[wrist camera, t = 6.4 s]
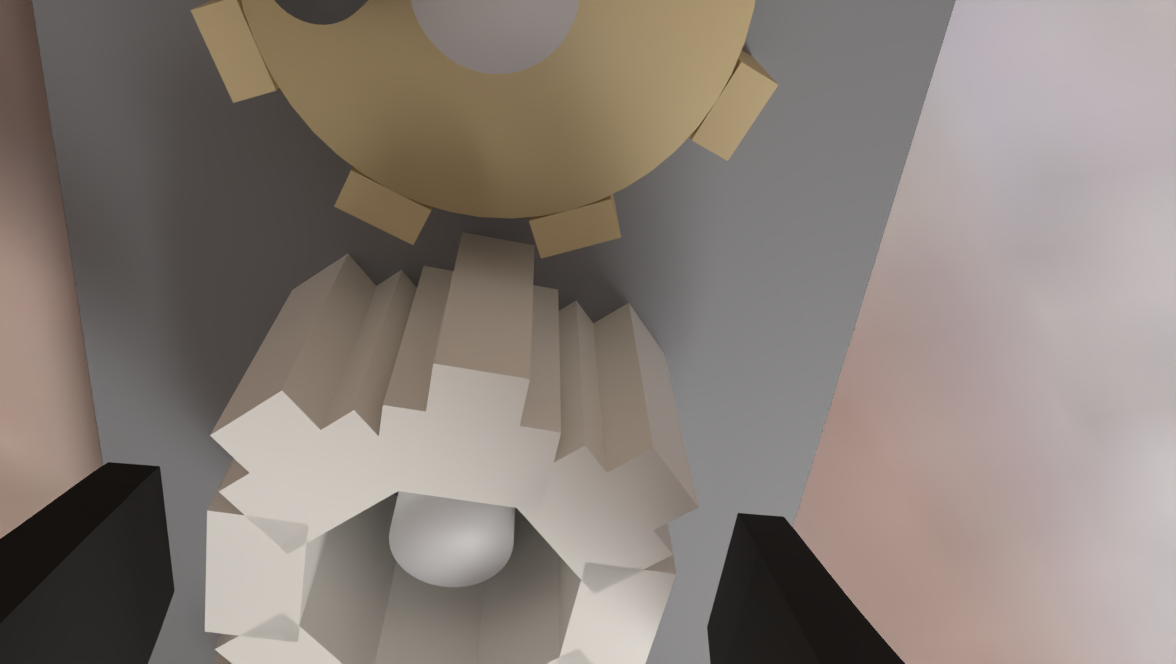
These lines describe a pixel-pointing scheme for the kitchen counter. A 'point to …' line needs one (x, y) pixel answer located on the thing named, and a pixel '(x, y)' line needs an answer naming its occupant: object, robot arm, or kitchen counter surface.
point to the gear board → (483, 218)
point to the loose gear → (446, 472)
